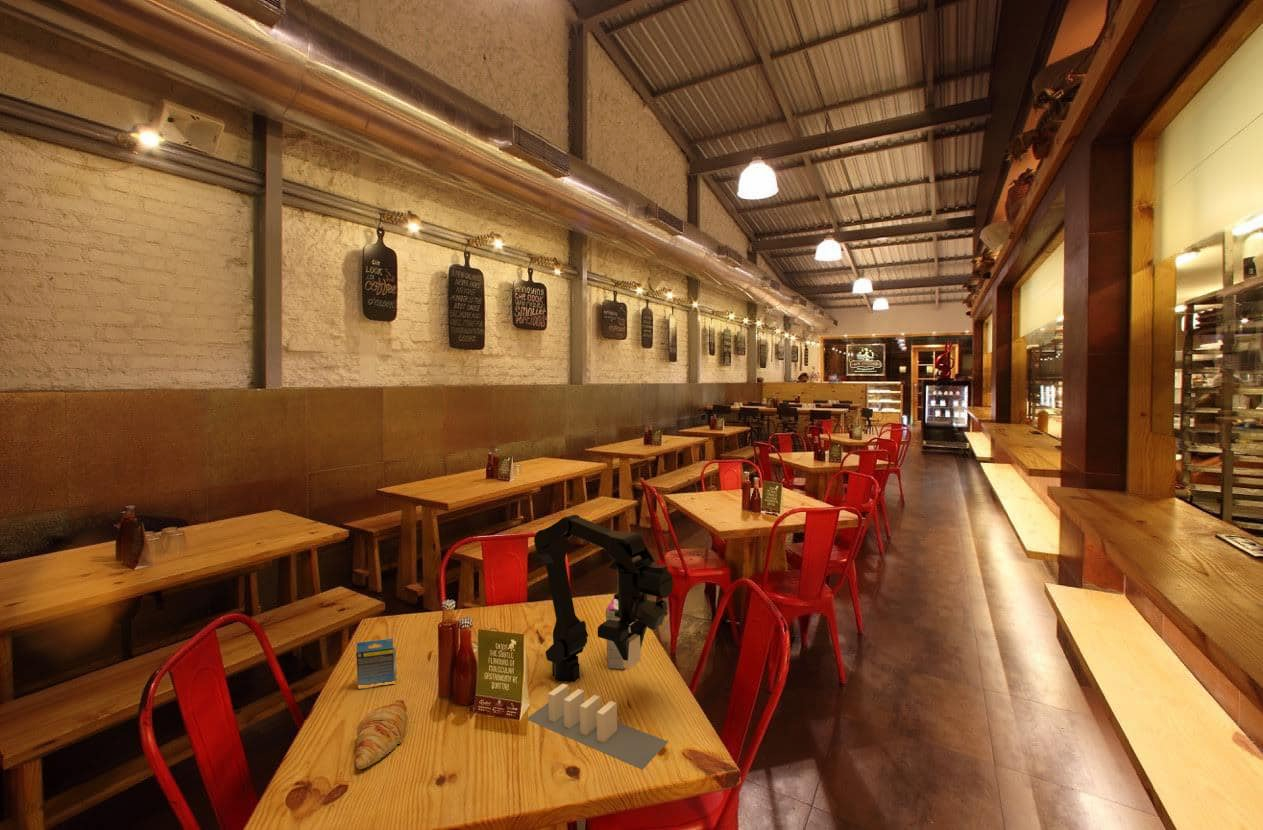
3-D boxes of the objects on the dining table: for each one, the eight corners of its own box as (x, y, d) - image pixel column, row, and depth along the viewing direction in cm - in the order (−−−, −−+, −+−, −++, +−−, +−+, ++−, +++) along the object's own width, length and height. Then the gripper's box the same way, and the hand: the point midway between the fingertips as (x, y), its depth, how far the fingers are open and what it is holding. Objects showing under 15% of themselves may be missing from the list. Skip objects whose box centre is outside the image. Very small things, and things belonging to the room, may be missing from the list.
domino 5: (623, 667, 126) (622, 642, 126) (635, 658, 130) (634, 633, 130) (629, 669, 125) (628, 643, 125) (640, 660, 129) (640, 635, 129)
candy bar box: (615, 649, 156) (614, 593, 156) (632, 651, 155) (631, 594, 155) (606, 669, 146) (605, 608, 145) (624, 670, 145) (623, 610, 144)
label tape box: (397, 677, 143) (395, 631, 143) (394, 685, 139) (393, 638, 139) (360, 682, 141) (358, 636, 140) (357, 691, 137) (355, 643, 136)
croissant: (376, 791, 107) (394, 755, 107) (328, 770, 106) (346, 734, 106) (412, 723, 128) (427, 693, 128) (372, 706, 127) (387, 676, 127)
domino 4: (597, 740, 114) (596, 712, 114) (611, 727, 118) (610, 700, 118) (603, 742, 113) (602, 714, 113) (617, 730, 117) (616, 703, 117)
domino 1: (548, 719, 122) (548, 693, 121) (563, 708, 126) (563, 683, 126) (554, 722, 121) (553, 695, 120) (568, 710, 125) (568, 685, 125)
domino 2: (564, 726, 119) (563, 699, 119) (578, 714, 123) (578, 688, 123) (570, 728, 118) (569, 701, 118) (584, 717, 122) (583, 691, 122)
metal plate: (525, 723, 122) (525, 718, 122) (555, 701, 130) (555, 697, 130) (642, 774, 105) (642, 769, 105) (668, 746, 113) (668, 741, 113)
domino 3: (580, 733, 117) (579, 705, 116) (594, 721, 121) (594, 694, 121) (586, 735, 116) (585, 708, 116) (600, 723, 120) (599, 696, 120)
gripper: (637, 609, 115) (639, 682, 115) (679, 583, 130) (681, 647, 131) (595, 599, 121) (597, 669, 121) (640, 575, 136) (642, 637, 137)
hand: (631, 655), depth 127 cm, fingers closed on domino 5, 5 cm apart
